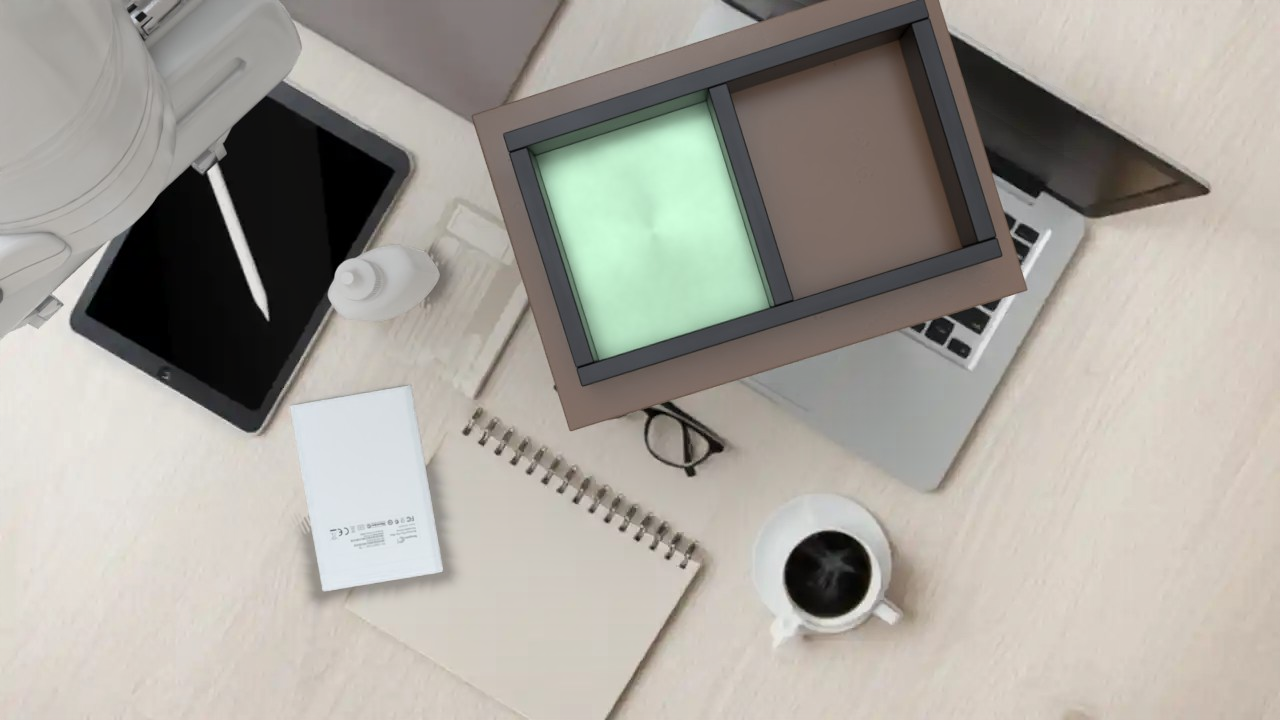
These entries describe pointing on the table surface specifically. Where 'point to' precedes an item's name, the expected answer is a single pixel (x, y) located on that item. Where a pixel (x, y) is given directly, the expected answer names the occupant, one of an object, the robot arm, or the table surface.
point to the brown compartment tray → (748, 203)
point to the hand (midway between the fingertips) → (121, 227)
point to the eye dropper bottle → (382, 283)
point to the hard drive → (366, 488)
